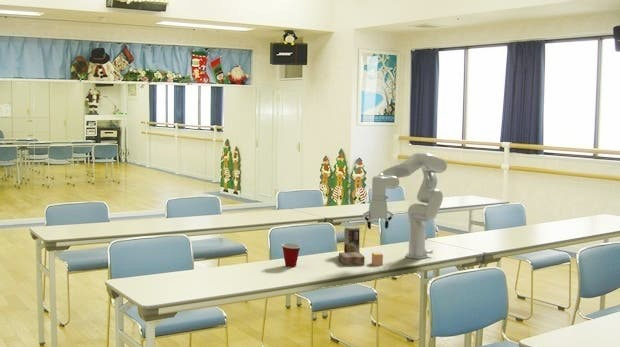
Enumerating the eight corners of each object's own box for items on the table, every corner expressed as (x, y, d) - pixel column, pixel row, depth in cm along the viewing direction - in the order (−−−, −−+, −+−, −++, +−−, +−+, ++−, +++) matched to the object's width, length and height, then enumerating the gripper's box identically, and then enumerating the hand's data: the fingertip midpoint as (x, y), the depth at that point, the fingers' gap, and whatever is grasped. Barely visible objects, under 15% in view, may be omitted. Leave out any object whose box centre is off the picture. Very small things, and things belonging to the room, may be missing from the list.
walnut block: (359, 260, 390) (359, 252, 390) (364, 265, 379) (364, 256, 378) (338, 261, 388) (338, 252, 388) (343, 266, 377) (343, 257, 376)
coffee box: (359, 254, 405) (360, 228, 403) (359, 257, 398) (359, 230, 397) (344, 254, 405) (344, 227, 404) (343, 256, 399) (344, 229, 397)
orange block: (380, 262, 385) (380, 252, 384) (382, 265, 380) (382, 254, 379) (371, 263, 384) (372, 252, 383) (373, 265, 379) (374, 254, 378)
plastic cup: (298, 269, 367) (298, 247, 366) (279, 267, 369) (279, 246, 368) (302, 264, 378) (303, 243, 376) (284, 263, 380) (284, 242, 379)
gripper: (391, 197, 383) (391, 227, 385) (362, 197, 380) (361, 227, 382) (395, 199, 375) (394, 229, 377) (364, 199, 373) (364, 230, 375)
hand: (377, 228), depth 380 cm, fingers open, 9 cm apart
